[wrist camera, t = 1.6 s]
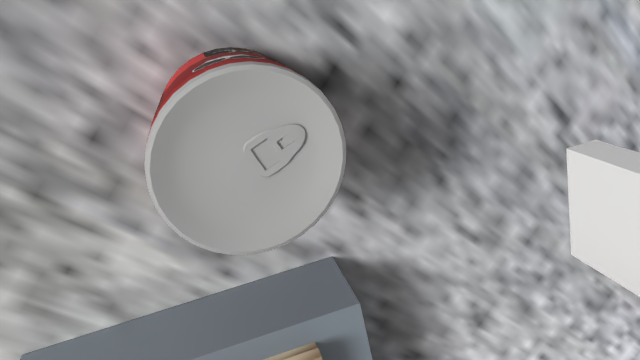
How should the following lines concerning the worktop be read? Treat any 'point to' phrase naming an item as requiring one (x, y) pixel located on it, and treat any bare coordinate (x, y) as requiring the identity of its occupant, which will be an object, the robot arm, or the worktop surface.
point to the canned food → (243, 153)
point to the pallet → (300, 353)
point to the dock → (238, 324)
